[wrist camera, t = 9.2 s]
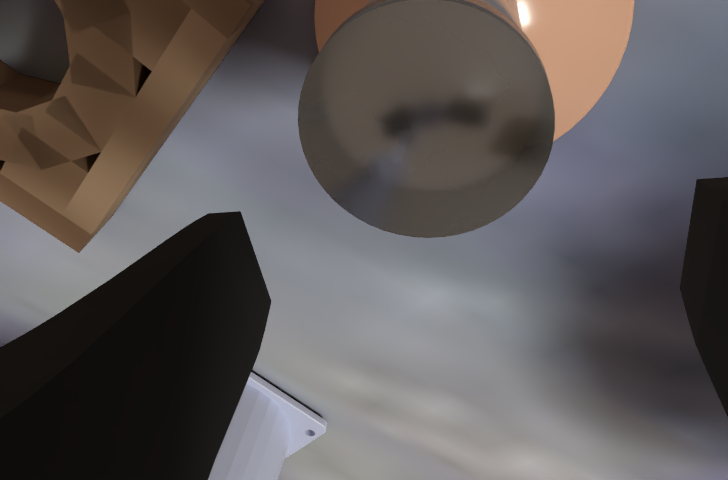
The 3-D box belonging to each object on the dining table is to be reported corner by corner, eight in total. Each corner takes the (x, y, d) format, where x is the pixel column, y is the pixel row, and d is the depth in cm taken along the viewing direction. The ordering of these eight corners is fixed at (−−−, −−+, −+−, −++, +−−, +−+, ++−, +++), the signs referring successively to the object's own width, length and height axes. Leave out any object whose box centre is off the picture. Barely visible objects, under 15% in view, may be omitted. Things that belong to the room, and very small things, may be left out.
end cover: (444, 139, 19) (430, 274, 14) (323, 36, 18) (251, 138, 12) (567, 20, 17) (613, 127, 11) (436, -112, 15) (410, -67, 10)
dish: (464, 205, 21) (464, 214, 21) (262, 32, 19) (257, 38, 18) (699, 14, 17) (705, 20, 16) (470, -253, 14) (470, -255, 14)
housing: (112, 216, 24) (78, 253, 22) (-188, 10, 21) (-259, 31, 19) (276, -17, 18) (250, 5, 16) (-116, -367, 14) (-212, -396, 12)
